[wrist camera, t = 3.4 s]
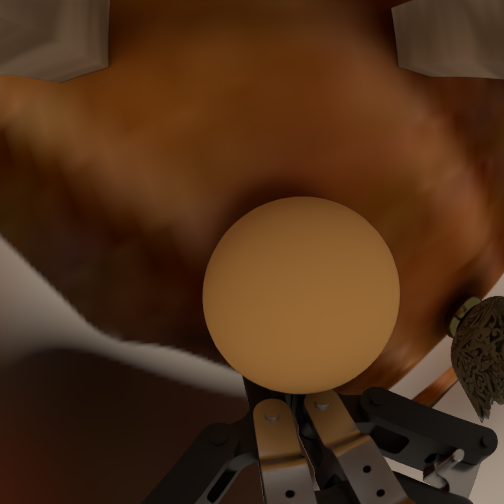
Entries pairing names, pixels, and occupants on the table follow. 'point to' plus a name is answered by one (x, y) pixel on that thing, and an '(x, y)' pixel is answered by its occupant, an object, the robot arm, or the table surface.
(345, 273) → the ball
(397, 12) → the bridge
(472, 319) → the jagged textured lump
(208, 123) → the table surface
